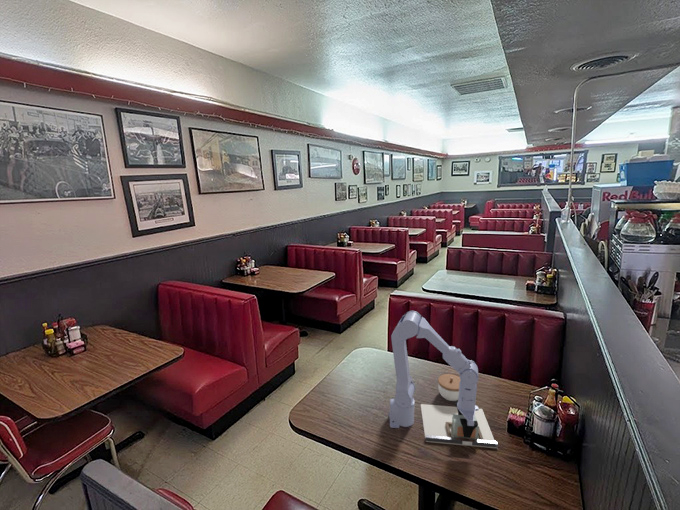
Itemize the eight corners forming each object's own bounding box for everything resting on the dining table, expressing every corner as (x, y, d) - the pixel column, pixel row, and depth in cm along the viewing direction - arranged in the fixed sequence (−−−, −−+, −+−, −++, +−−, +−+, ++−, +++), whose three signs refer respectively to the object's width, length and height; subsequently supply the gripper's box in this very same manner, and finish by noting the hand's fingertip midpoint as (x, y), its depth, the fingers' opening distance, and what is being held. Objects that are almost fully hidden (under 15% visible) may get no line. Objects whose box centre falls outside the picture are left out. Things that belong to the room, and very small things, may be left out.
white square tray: (425, 443, 117) (425, 437, 117) (420, 405, 137) (420, 400, 136) (497, 450, 114) (498, 444, 114) (481, 410, 133) (482, 405, 133)
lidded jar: (458, 409, 134) (460, 388, 132) (433, 399, 141) (434, 379, 138) (467, 395, 143) (468, 376, 140) (442, 386, 149) (443, 367, 147)
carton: (451, 428, 123) (452, 414, 122) (474, 430, 122) (475, 416, 121) (454, 439, 118) (455, 424, 117) (477, 441, 117) (479, 426, 116)
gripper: (485, 410, 109) (481, 445, 112) (474, 383, 123) (471, 415, 126) (462, 408, 110) (459, 443, 113) (454, 382, 124) (452, 414, 127)
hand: (464, 428), depth 120 cm, fingers open, 7 cm apart
